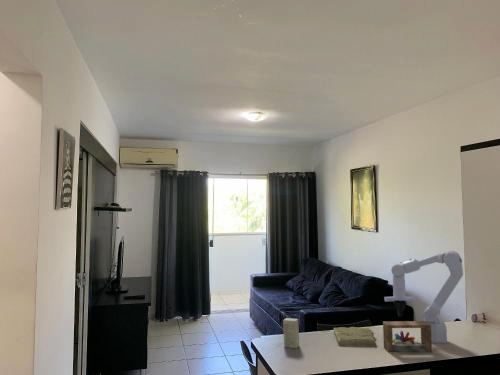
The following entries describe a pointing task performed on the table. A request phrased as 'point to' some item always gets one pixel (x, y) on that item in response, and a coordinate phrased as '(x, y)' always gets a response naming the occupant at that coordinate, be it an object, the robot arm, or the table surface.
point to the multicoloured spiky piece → (403, 339)
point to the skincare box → (291, 332)
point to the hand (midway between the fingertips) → (400, 315)
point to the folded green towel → (354, 336)
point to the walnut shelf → (407, 348)
